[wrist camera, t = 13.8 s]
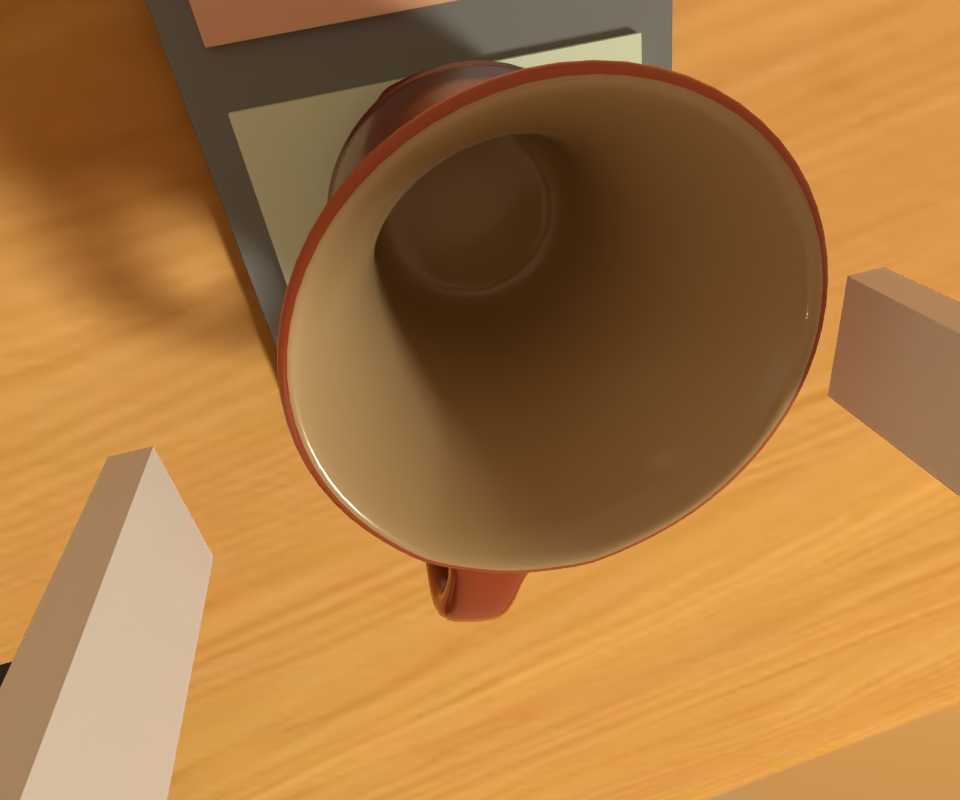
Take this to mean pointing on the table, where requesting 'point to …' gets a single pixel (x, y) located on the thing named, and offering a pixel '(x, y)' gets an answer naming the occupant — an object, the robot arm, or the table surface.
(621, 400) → the mug
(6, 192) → the table surface
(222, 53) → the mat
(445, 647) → the table surface
